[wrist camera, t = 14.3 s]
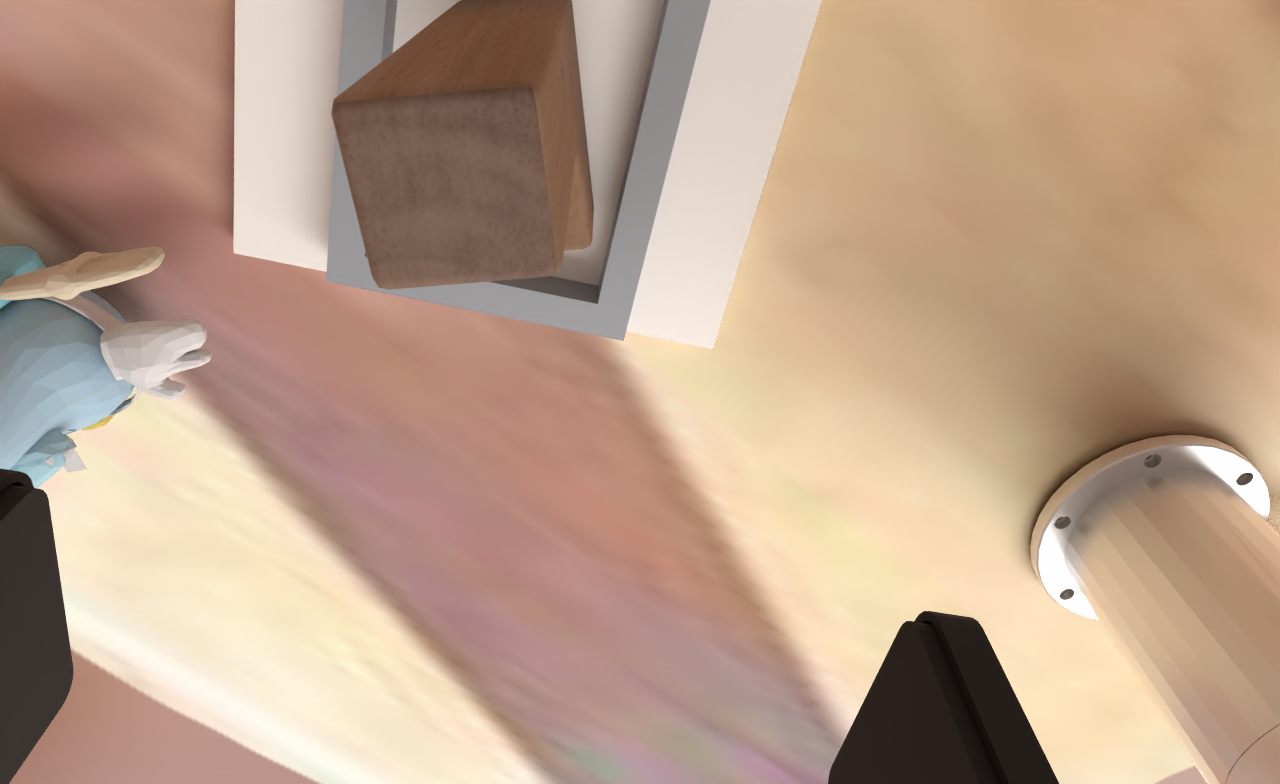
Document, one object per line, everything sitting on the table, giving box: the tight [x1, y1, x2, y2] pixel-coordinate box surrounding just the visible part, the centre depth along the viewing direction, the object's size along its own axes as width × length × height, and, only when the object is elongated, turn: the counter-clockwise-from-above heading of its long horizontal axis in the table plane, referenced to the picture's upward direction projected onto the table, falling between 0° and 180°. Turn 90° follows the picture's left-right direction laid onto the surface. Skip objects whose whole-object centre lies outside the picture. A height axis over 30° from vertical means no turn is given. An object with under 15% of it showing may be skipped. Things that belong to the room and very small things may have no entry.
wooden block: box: [331, 0, 594, 290], centre depth 28 cm, size 9×4×18 cm, turn 4°
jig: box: [234, 0, 822, 349], centre depth 35 cm, size 22×18×3 cm
